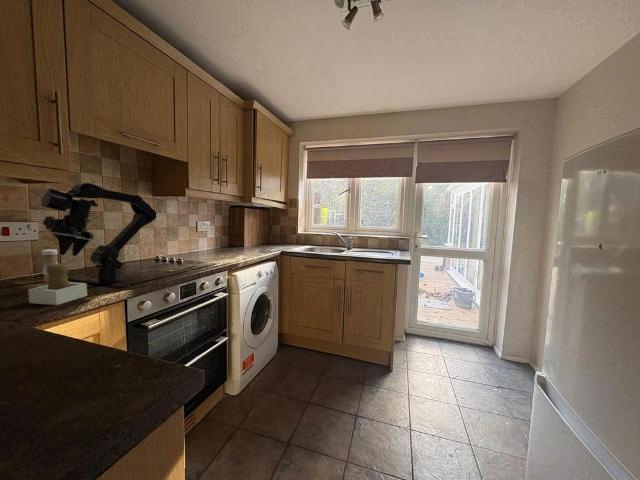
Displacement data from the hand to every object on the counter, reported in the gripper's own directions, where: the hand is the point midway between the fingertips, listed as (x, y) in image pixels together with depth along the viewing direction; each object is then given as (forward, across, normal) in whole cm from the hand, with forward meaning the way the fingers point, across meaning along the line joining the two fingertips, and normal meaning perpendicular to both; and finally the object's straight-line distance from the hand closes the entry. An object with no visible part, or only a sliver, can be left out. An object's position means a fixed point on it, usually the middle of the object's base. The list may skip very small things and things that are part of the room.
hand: (68, 255), depth 99 cm
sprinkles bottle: (+12, -21, -11) cm, 26 cm away
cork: (+14, +9, +4) cm, 17 cm away
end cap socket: (+15, +8, +4) cm, 18 cm away
